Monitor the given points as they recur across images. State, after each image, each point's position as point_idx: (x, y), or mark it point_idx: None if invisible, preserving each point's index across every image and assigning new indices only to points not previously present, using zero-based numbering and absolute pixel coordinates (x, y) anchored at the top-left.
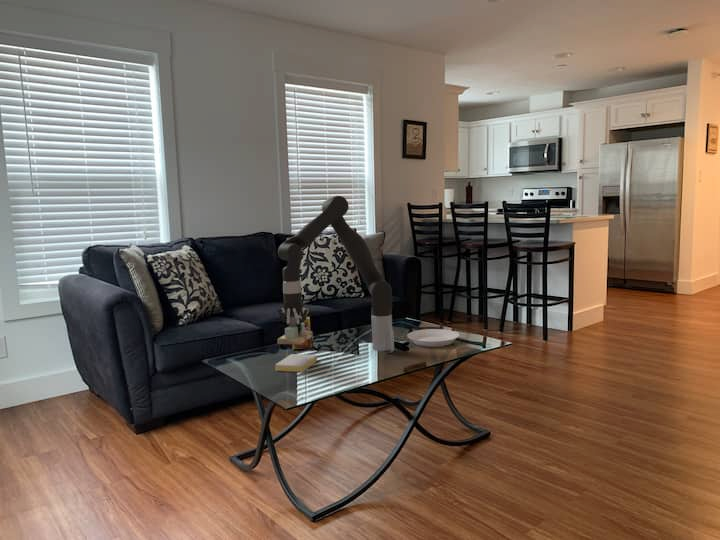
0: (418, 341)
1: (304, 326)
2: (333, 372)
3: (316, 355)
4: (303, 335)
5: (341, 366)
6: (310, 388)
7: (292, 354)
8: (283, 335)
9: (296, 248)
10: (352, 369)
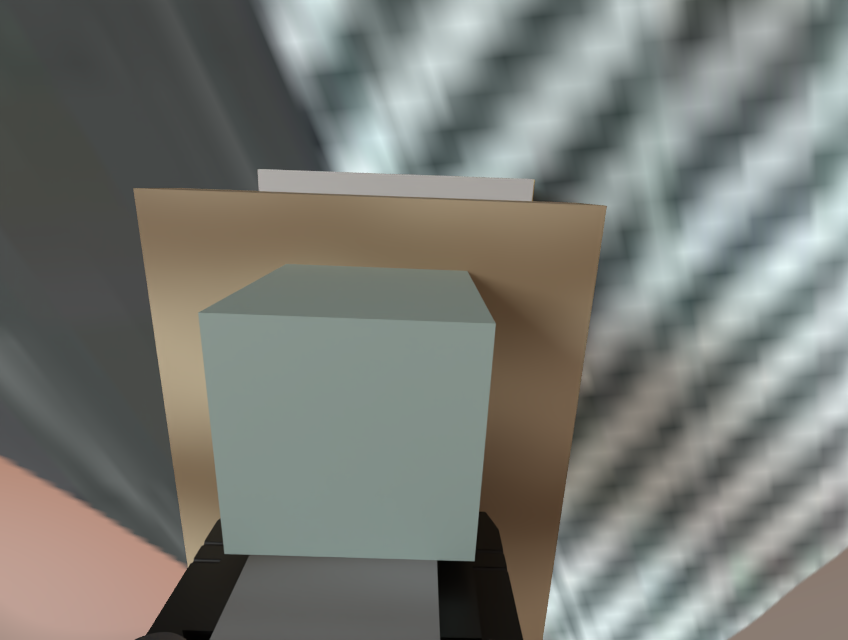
0: None
1: (480, 302)
2: (685, 371)
3: (533, 185)
4: (517, 491)
5: (728, 226)
6: (600, 630)
7: (280, 183)
8: (181, 506)
9: None
10: (819, 292)
